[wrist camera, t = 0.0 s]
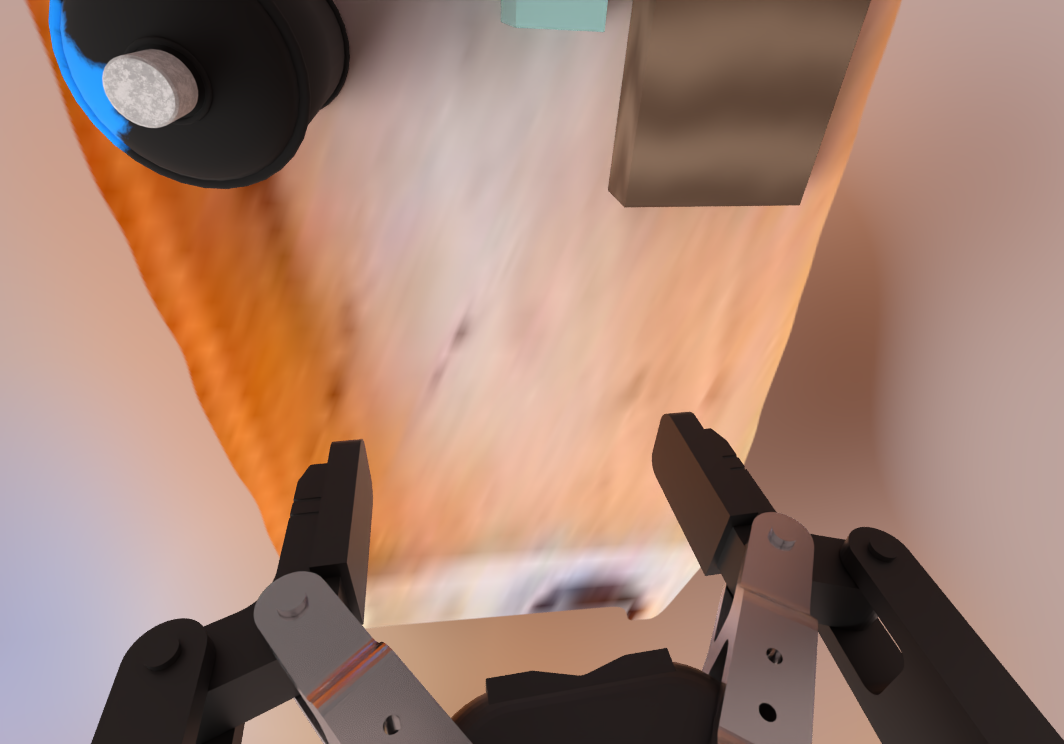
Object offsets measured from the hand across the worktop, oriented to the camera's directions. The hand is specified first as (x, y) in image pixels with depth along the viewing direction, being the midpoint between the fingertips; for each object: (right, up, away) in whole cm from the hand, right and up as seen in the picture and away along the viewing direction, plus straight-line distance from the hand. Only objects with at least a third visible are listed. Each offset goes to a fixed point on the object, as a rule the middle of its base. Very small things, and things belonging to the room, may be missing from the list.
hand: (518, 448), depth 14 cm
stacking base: (+13, +22, +24) cm, 35 cm away
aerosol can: (-15, +22, +18) cm, 32 cm away
